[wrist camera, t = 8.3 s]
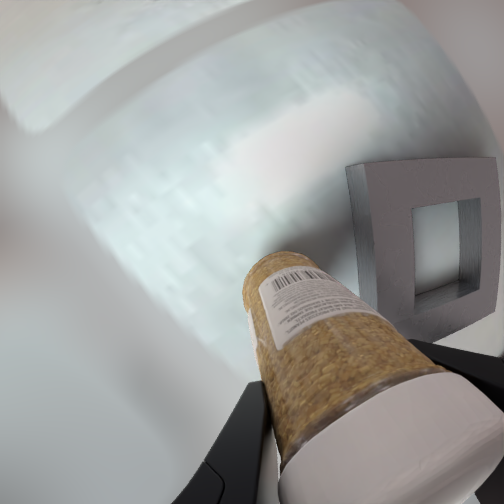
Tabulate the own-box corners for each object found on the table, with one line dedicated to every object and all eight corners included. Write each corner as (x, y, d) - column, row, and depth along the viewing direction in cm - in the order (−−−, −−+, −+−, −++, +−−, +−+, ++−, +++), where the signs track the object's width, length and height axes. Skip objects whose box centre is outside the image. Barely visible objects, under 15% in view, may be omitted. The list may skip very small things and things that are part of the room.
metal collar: (476, 301, 19) (494, 311, 16) (361, 346, 18) (376, 364, 16) (473, 158, 16) (495, 157, 14) (345, 167, 16) (363, 163, 13)
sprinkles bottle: (234, 320, 16) (260, 579, 2) (252, 240, 15) (389, 470, 2) (311, 332, 16) (431, 534, 3) (333, 258, 15) (549, 403, 2)
